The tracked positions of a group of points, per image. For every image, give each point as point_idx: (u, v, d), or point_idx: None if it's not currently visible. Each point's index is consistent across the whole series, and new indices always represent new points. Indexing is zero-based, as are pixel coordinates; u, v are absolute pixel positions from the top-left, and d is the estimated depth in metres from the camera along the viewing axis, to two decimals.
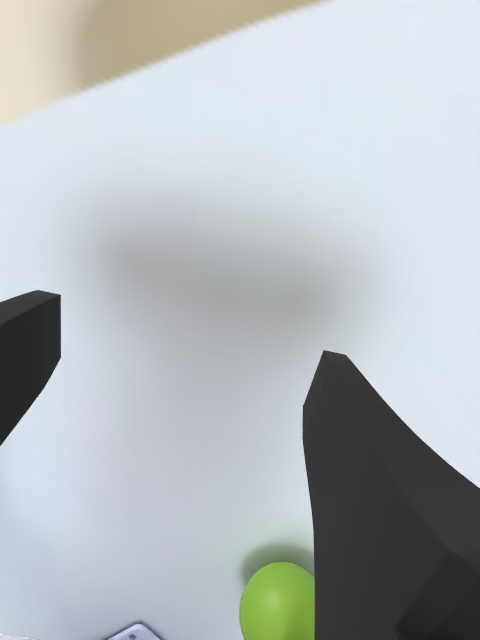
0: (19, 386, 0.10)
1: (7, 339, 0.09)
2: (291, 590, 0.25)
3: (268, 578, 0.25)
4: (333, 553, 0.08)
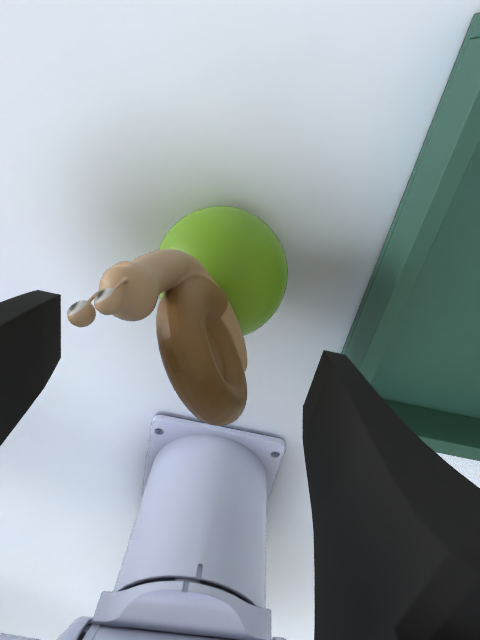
0: (19, 386, 0.10)
1: (7, 339, 0.09)
2: (179, 225, 0.16)
3: None
4: (333, 553, 0.08)
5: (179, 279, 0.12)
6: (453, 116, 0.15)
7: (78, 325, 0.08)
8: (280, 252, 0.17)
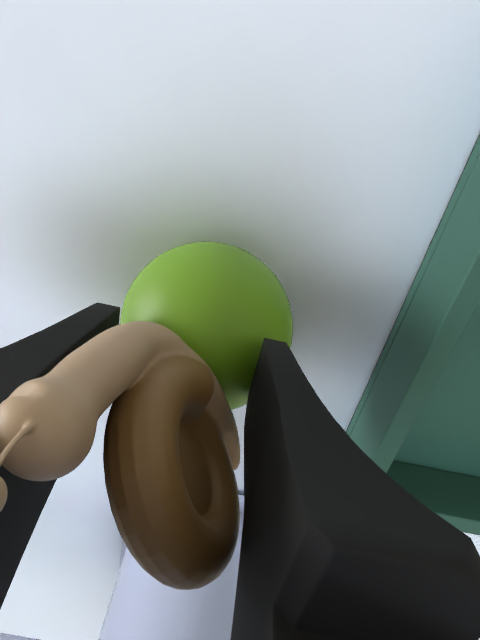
0: None
1: None
2: (152, 269, 0.12)
3: None
4: (250, 537, 0.08)
5: (141, 373, 0.08)
6: None
7: None
8: (284, 304, 0.13)
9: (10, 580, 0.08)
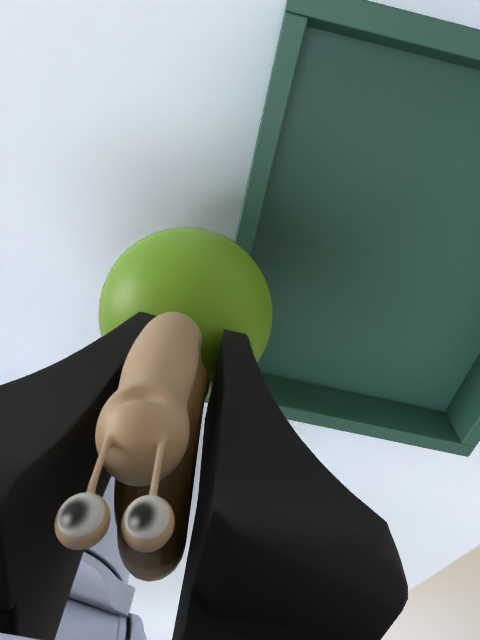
0: None
1: None
2: (175, 245, 0.12)
3: (136, 243, 0.13)
4: (195, 527, 0.08)
5: None
6: None
7: (72, 549, 0.04)
8: (270, 329, 0.13)
9: (69, 590, 0.08)
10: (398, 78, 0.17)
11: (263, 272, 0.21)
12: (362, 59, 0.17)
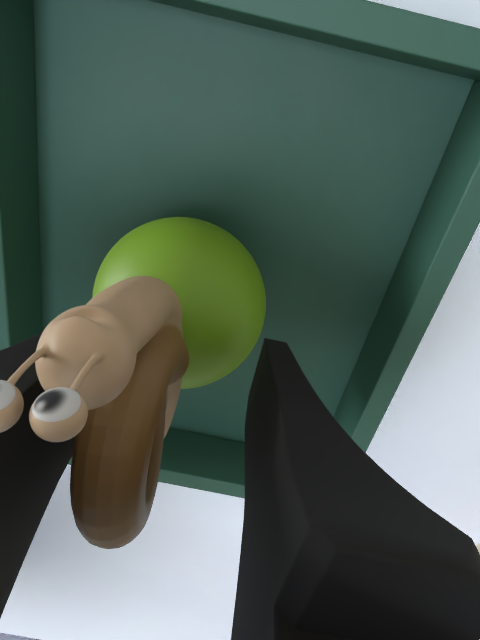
0: None
1: None
2: (168, 228, 0.12)
3: (133, 229, 0.13)
4: (251, 537, 0.08)
5: None
6: None
7: None
8: (263, 321, 0.13)
9: (13, 580, 0.08)
10: (171, 43, 0.13)
11: (64, 294, 0.17)
12: (120, 18, 0.12)
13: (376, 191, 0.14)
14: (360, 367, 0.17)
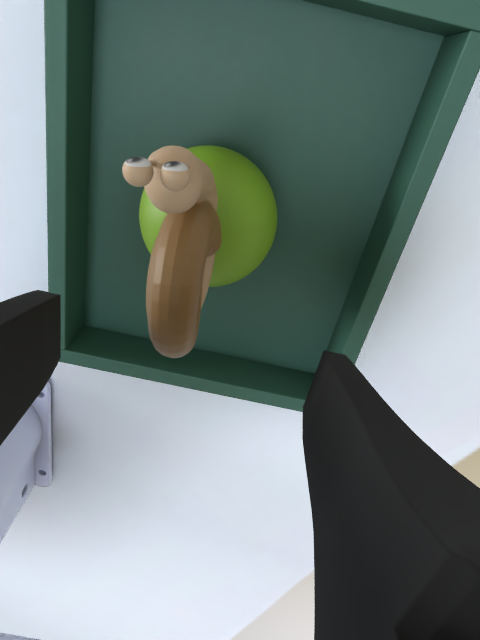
0: (19, 386, 0.10)
1: (7, 339, 0.09)
2: (202, 149, 0.15)
3: None
4: (333, 553, 0.08)
5: (202, 199, 0.12)
6: None
7: (132, 180, 0.07)
8: (275, 230, 0.17)
9: None
10: (204, 6, 0.16)
11: (106, 223, 0.20)
12: None
13: (367, 130, 0.18)
14: (354, 286, 0.20)
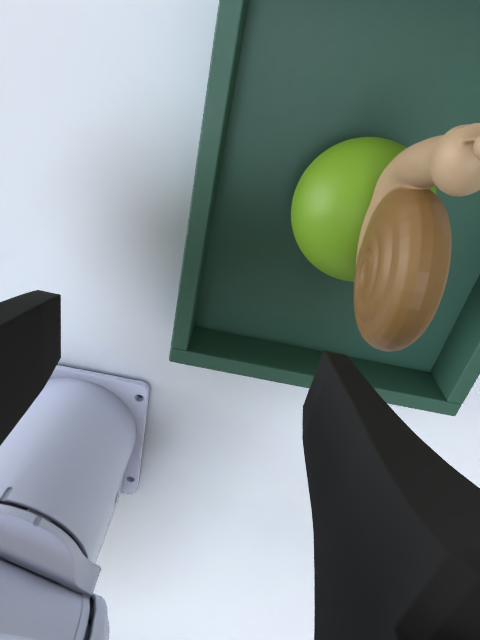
0: (19, 386, 0.10)
1: (7, 339, 0.09)
2: (371, 140, 0.15)
3: (330, 147, 0.16)
4: (333, 553, 0.08)
5: (430, 186, 0.11)
6: None
7: None
8: None
9: None
10: None
11: (231, 221, 0.20)
12: None
13: None
14: None
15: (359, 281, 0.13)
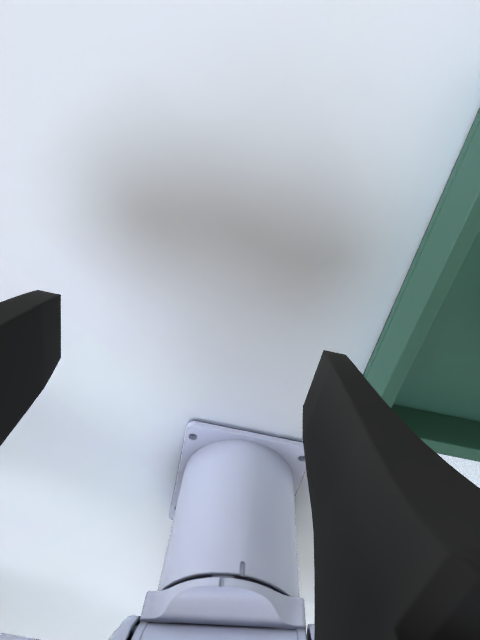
0: (19, 386, 0.10)
1: (7, 339, 0.09)
2: None
3: None
4: (333, 553, 0.08)
5: None
6: None
7: None
8: None
9: None
10: None
11: None
12: None
13: None
14: None
15: None
